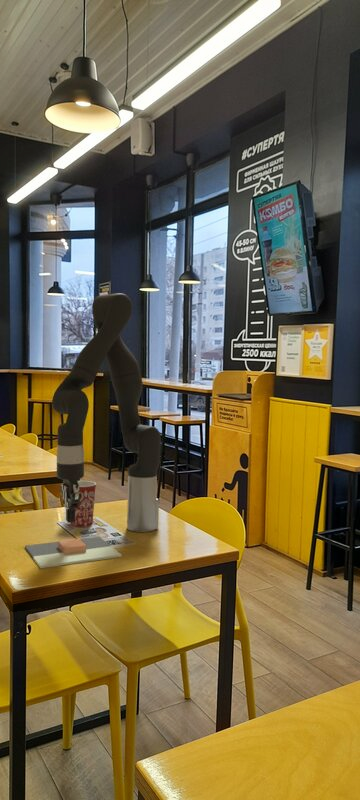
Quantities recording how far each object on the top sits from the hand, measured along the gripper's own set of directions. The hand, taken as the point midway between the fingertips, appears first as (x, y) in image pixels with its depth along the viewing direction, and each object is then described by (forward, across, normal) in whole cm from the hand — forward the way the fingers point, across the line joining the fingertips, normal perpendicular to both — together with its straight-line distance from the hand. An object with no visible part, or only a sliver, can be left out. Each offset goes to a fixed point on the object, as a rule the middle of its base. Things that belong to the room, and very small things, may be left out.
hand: (70, 521), depth 158 cm
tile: (+6, -3, 0) cm, 7 cm away
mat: (+8, -3, 0) cm, 8 cm away
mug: (+8, +25, -11) cm, 28 cm away
